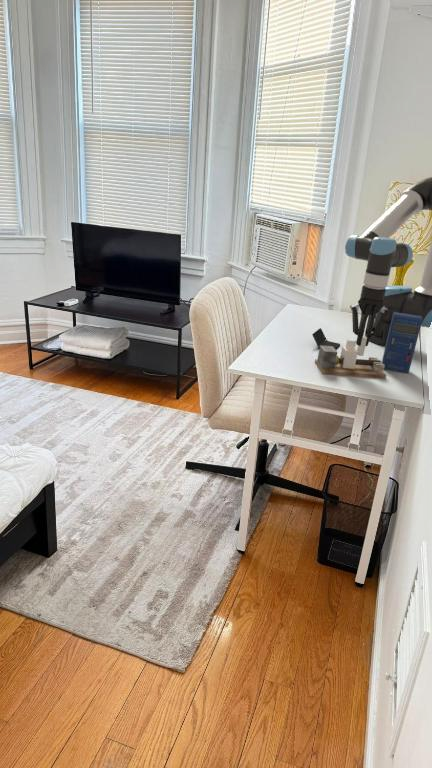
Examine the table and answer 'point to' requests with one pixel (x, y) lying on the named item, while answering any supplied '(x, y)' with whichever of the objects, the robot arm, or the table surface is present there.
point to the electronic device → (401, 342)
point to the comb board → (363, 368)
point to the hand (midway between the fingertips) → (359, 354)
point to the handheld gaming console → (323, 340)
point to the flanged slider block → (349, 354)
